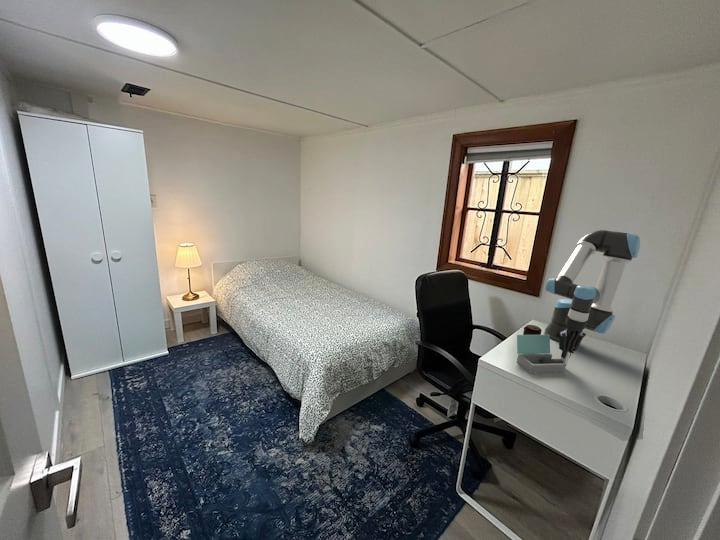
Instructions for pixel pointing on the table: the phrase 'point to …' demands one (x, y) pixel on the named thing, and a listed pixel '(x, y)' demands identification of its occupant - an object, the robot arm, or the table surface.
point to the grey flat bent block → (528, 359)
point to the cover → (533, 344)
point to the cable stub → (550, 361)
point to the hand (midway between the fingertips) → (563, 363)
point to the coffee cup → (532, 330)
